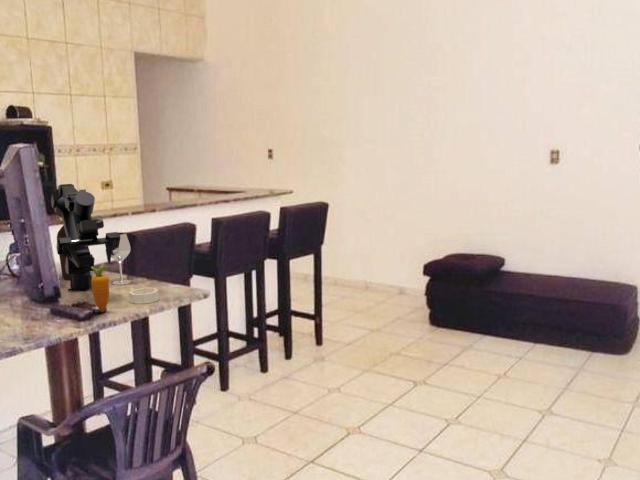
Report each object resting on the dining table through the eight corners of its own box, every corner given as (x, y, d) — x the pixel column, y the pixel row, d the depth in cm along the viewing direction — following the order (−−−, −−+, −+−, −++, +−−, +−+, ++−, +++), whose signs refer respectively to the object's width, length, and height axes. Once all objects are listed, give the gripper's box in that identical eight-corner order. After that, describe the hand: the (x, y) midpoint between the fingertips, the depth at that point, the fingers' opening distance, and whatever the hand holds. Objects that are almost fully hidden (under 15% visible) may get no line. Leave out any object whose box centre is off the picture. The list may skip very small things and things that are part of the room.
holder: (125, 303, 196) (124, 294, 196) (137, 296, 205) (136, 287, 204) (151, 304, 195) (151, 295, 194) (163, 296, 203) (162, 287, 203)
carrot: (94, 315, 184) (90, 266, 181) (93, 311, 189) (89, 263, 186) (112, 313, 186) (107, 264, 183) (110, 309, 190) (106, 261, 188)
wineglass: (126, 285, 219) (122, 235, 216) (105, 285, 221) (100, 235, 218) (137, 280, 227) (133, 231, 224) (117, 279, 229) (113, 231, 226)
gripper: (54, 212, 188) (64, 253, 181) (116, 207, 198) (128, 246, 191) (52, 234, 196) (62, 274, 189) (112, 227, 206) (123, 266, 199)
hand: (94, 264), depth 192 cm, fingers open, 9 cm apart
